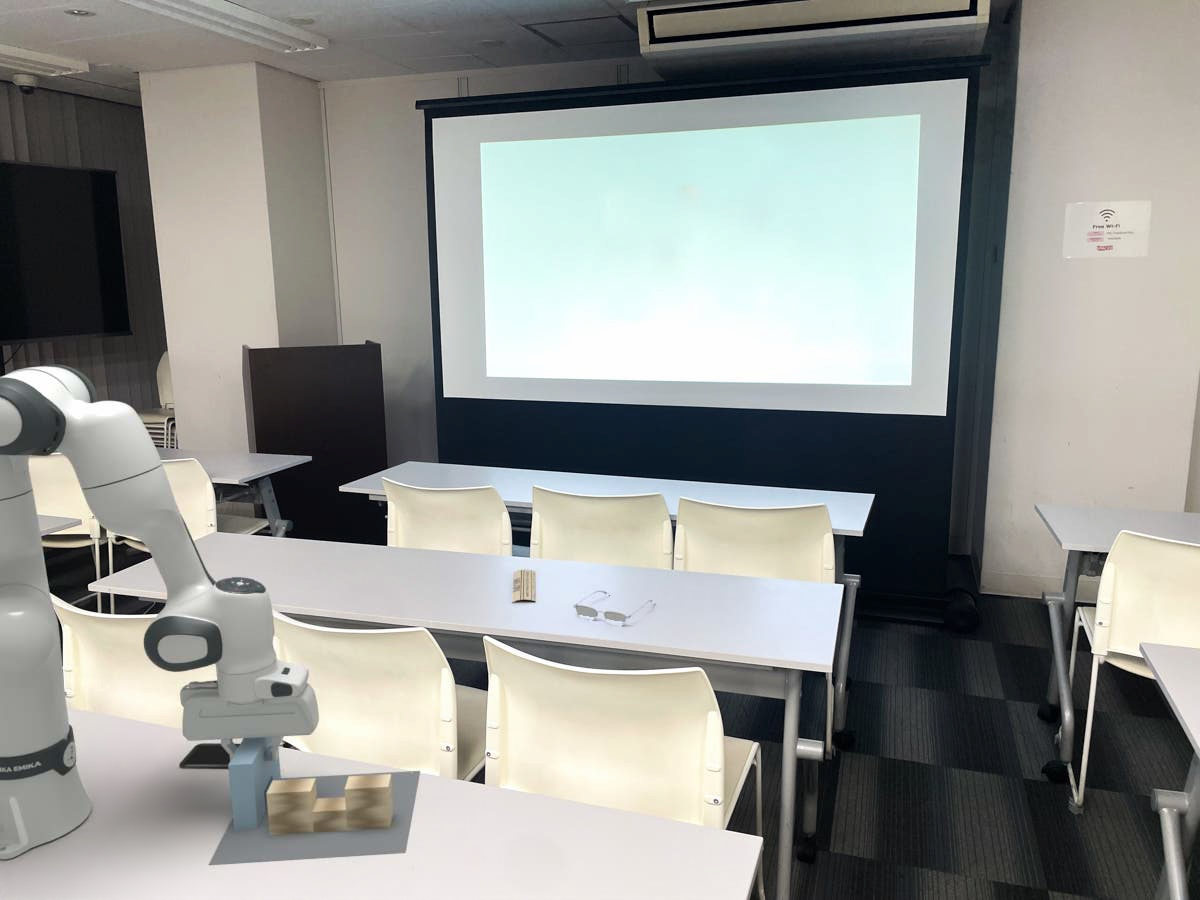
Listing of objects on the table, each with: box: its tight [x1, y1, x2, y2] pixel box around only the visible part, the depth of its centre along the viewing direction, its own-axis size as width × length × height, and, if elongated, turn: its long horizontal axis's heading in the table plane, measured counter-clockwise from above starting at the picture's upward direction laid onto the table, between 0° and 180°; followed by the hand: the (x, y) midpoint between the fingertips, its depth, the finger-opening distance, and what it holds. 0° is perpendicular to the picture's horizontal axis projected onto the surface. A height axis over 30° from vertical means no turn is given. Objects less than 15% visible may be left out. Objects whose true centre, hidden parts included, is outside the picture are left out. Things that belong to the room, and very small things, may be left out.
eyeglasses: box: [572, 590, 653, 623], centre depth 225 cm, size 15×18×4 cm
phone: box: [178, 742, 241, 770], centre depth 157 cm, size 8×1×15 cm
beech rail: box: [266, 774, 393, 835], centre depth 137 cm, size 18×4×7 cm, turn 96°
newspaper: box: [511, 569, 536, 604], centre depth 242 cm, size 24×7×2 cm, turn 4°
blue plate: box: [228, 737, 282, 830], centre depth 142 cm, size 4×14×11 cm, turn 6°
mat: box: [208, 770, 421, 866], centre depth 140 cm, size 28×22×1 cm
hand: (254, 760), depth 141 cm, fingers open, 4 cm apart
